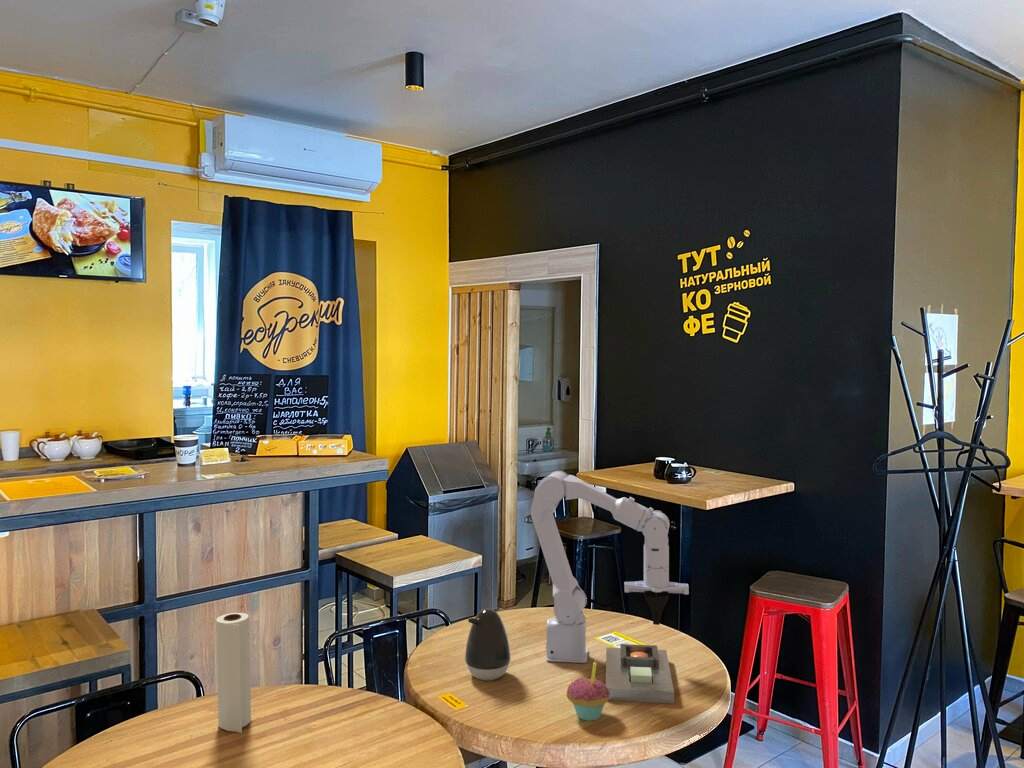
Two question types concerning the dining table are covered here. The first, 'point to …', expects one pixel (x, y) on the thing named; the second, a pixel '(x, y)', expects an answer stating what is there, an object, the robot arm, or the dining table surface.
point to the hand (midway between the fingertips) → (656, 623)
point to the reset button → (638, 654)
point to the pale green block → (640, 675)
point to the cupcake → (588, 696)
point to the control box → (621, 663)
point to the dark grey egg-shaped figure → (487, 646)
